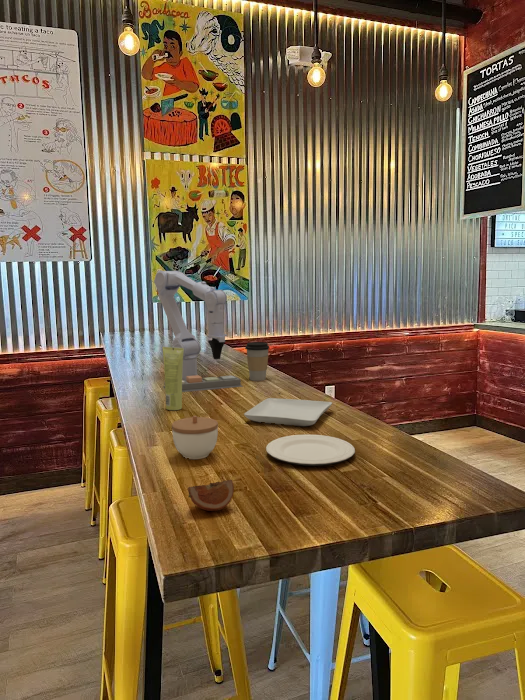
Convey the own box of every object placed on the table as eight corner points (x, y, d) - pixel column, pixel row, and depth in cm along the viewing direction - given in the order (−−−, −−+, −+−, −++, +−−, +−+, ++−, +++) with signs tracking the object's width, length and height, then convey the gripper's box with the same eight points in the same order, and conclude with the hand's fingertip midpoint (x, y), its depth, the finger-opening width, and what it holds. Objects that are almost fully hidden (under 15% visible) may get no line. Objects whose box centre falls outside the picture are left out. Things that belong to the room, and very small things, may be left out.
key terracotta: (186, 381, 197) (186, 376, 197) (198, 380, 199) (198, 375, 199) (189, 384, 193) (189, 378, 193) (202, 382, 195) (202, 377, 195)
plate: (332, 478, 114) (332, 469, 113) (248, 460, 124) (248, 452, 124) (368, 450, 131) (368, 442, 131) (292, 436, 142) (292, 429, 142)
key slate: (220, 381, 202) (220, 376, 202) (231, 380, 204) (231, 375, 204) (223, 384, 198) (223, 378, 198) (235, 382, 200) (235, 377, 200)
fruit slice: (192, 520, 95) (191, 492, 94) (184, 504, 101) (183, 479, 100) (238, 512, 98) (237, 485, 97) (227, 497, 104) (226, 472, 103)
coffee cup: (270, 379, 214) (270, 341, 212) (268, 384, 205) (268, 345, 203) (247, 379, 215) (246, 341, 213) (243, 384, 206) (243, 345, 204)
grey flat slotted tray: (162, 388, 198) (162, 380, 198) (232, 382, 208) (232, 374, 208) (169, 395, 187) (169, 386, 187) (243, 389, 197) (243, 380, 197)
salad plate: (242, 424, 153) (242, 413, 153) (267, 406, 173) (267, 396, 172) (315, 432, 146) (315, 419, 146) (333, 412, 166) (333, 401, 165)
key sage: (203, 383, 200) (203, 377, 200) (215, 382, 202) (215, 376, 201) (207, 385, 196) (206, 380, 195) (219, 384, 197) (219, 379, 197)
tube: (182, 406, 173) (180, 345, 170) (185, 409, 169) (183, 347, 166) (164, 407, 171) (162, 346, 168) (167, 411, 167) (165, 348, 164)
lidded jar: (177, 447, 133) (176, 410, 132) (220, 447, 133) (220, 410, 131) (168, 462, 122) (167, 422, 121) (215, 463, 122) (214, 422, 121)
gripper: (232, 324, 196) (233, 361, 198) (220, 320, 210) (221, 355, 212) (213, 325, 194) (214, 362, 196) (202, 321, 207) (203, 356, 209)
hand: (216, 359), depth 203 cm, fingers closed
